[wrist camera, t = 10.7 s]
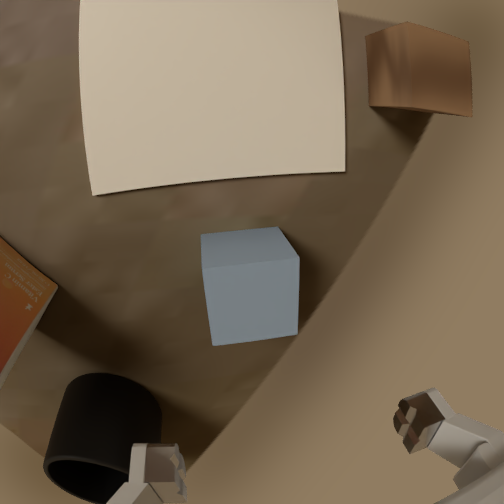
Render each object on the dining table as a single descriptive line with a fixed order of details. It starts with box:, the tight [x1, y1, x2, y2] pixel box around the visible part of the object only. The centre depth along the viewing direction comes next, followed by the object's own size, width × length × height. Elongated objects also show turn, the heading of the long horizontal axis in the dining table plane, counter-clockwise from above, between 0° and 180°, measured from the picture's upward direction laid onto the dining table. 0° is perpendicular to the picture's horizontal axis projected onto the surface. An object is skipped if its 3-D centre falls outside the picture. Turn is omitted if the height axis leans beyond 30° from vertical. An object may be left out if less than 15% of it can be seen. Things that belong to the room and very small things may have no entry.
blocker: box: [365, 22, 472, 117], centre depth 16 cm, size 5×5×5 cm
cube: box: [201, 227, 300, 346], centre depth 20 cm, size 5×5×5 cm
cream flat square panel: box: [79, 0, 345, 195], centre depth 16 cm, size 14×16×1 cm
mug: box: [43, 373, 162, 504], centre depth 22 cm, size 9×12×9 cm
